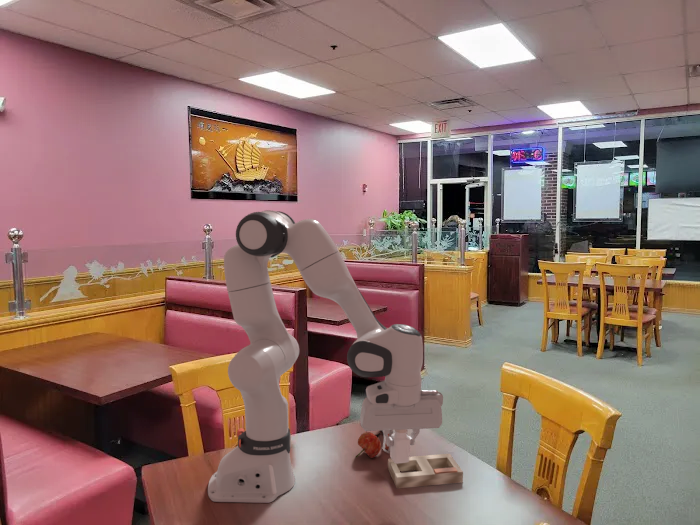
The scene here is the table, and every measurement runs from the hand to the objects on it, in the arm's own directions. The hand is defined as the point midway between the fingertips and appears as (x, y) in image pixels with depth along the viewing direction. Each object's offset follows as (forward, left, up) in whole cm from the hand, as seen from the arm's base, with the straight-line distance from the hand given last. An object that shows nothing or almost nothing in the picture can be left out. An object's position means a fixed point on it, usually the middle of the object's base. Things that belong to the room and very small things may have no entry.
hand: (400, 444), depth 128 cm
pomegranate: (-3, +23, -15) cm, 27 cm away
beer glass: (+5, +26, -15) cm, 30 cm away
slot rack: (+10, +10, -14) cm, 20 cm away
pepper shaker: (0, 0, -4) cm, 4 cm away
